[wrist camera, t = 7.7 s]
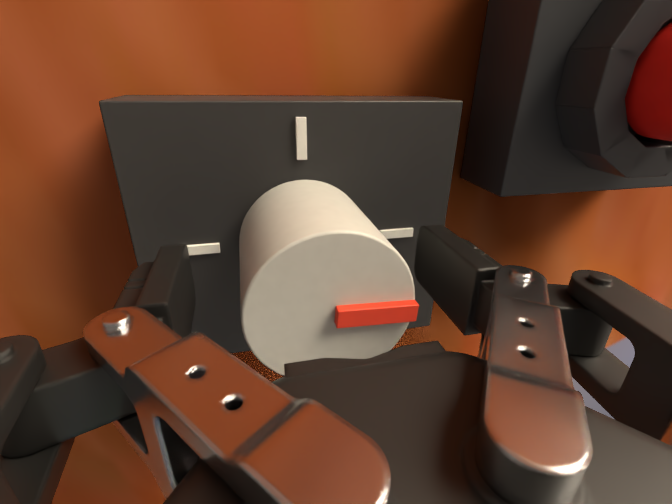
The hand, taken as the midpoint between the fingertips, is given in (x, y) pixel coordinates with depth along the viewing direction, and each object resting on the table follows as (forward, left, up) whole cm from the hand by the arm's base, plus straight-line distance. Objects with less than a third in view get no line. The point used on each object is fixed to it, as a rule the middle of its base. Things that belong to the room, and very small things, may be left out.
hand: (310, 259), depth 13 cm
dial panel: (0, 0, -5) cm, 5 cm away
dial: (0, 0, -2) cm, 2 cm away
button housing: (+12, +8, -5) cm, 15 cm away
